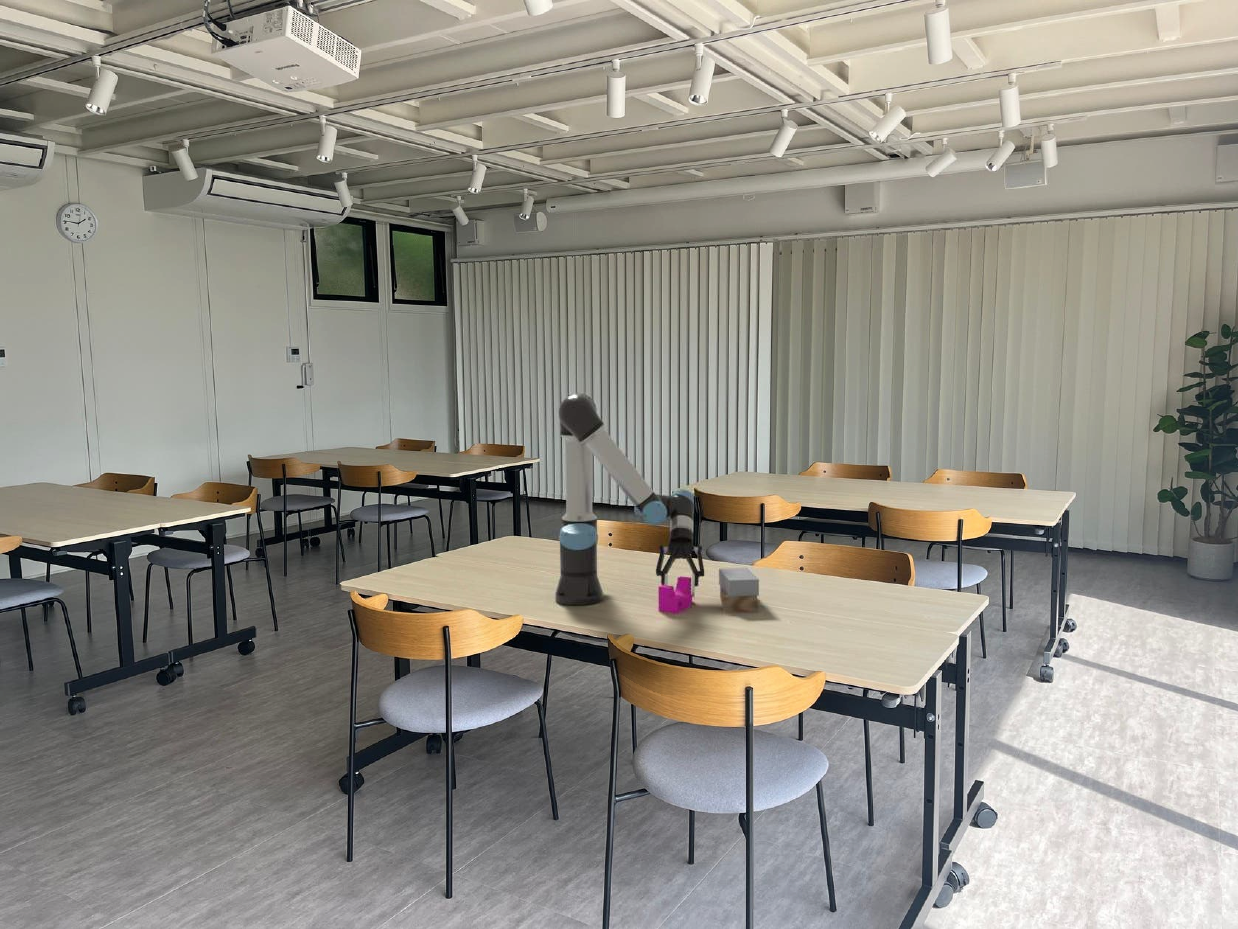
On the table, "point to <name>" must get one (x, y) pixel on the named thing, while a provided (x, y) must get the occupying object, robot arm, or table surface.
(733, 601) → the tower base
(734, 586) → the tower top
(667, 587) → the toy block
